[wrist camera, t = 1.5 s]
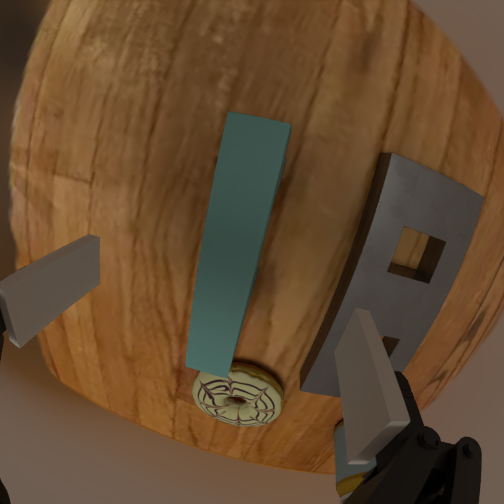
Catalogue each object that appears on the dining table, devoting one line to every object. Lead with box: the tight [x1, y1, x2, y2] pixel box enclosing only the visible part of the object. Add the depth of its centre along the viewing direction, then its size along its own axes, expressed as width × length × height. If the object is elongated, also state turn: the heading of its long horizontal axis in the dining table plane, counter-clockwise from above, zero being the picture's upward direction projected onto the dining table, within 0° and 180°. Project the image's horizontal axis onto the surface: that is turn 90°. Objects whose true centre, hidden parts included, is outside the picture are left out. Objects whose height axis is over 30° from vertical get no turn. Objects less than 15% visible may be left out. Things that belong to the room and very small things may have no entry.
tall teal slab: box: [185, 111, 291, 379], centre depth 19 cm, size 16×3×10 cm, turn 167°
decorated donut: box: [193, 362, 283, 427], centre depth 30 cm, size 10×11×4 cm
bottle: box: [334, 420, 377, 504], centre depth 25 cm, size 7×7×15 cm
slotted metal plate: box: [300, 153, 484, 397], centre depth 23 cm, size 24×10×3 cm, turn 167°
